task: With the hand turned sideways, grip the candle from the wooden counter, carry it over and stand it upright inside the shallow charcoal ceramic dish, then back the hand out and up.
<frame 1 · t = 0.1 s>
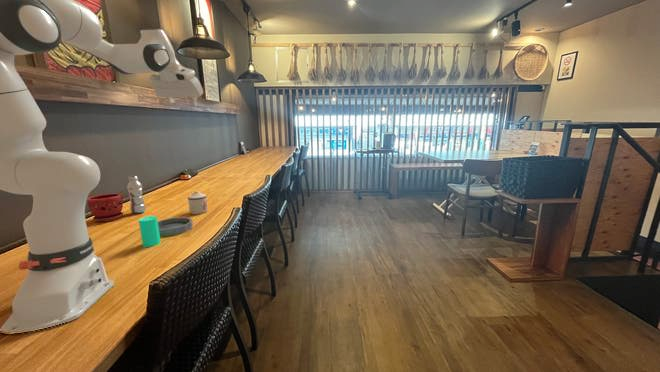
hand: (185, 106, 114), 54 cm above the counter, tool tilted 30°, fingers open, 8 cm apart
teacup with lid: (198, 211, 143), on the counter
plant pot: (109, 219, 130), on the counter
candle: (151, 243, 103), on the counter
dish: (173, 229, 117), on the counter
plastic bottle: (138, 213, 140), on the counter
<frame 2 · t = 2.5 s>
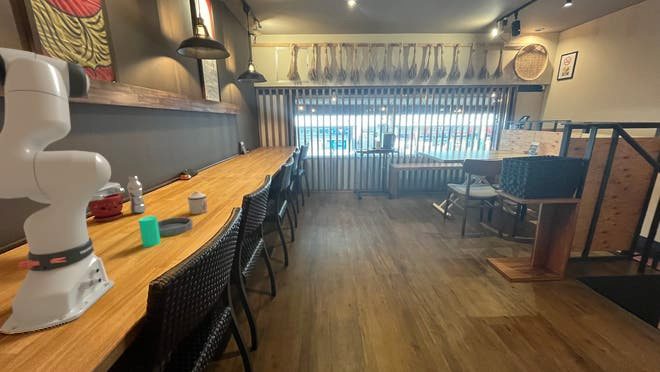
hand: (113, 193, 98), 20 cm above the counter, tool horizontal, fingers open, 8 cm apart
nothing on the counter moved.
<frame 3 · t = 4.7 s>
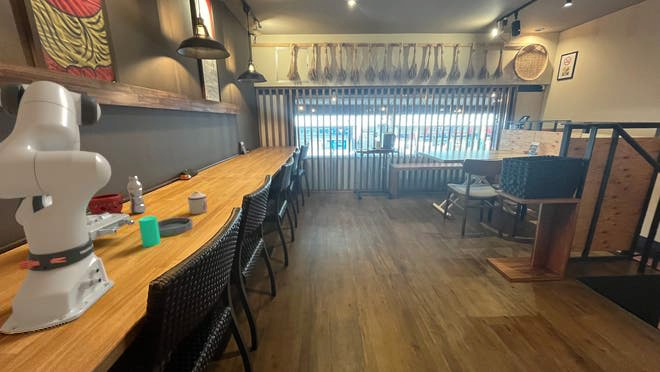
hand: (124, 226, 101), 7 cm above the counter, tool horizontal, fingers open, 8 cm apart
nothing on the counter moved.
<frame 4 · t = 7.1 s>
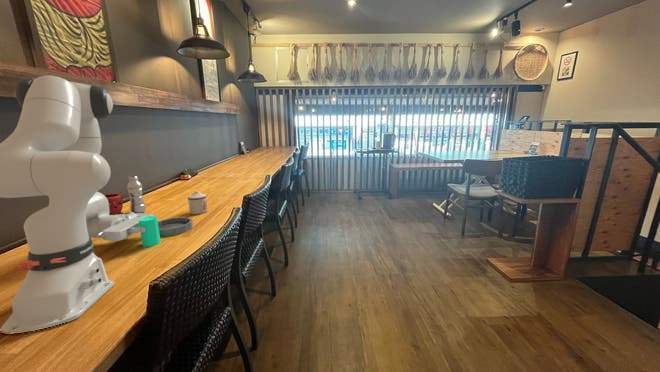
hand: (151, 226, 101), 7 cm above the counter, tool horizontal, fingers closed on candle, 5 cm apart
candle: (151, 243, 103), on the counter, touching gripper
everything else where it was.
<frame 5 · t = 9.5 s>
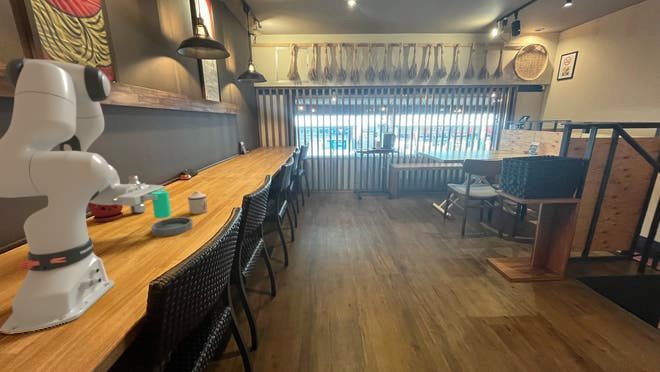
hand: (162, 195, 108), 17 cm above the counter, tool horizontal, fingers closed on candle, 5 cm apart
candle: (163, 216, 111), point 8 cm above the counter, touching gripper
everything else where it was.
when the fingers open (10 cm above the counter, at t = 12.2 s): candle stays where it is, resting on dish.
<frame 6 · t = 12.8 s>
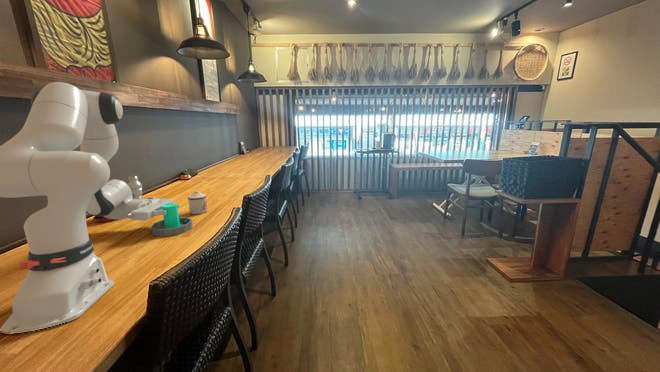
hand: (172, 209, 115), 10 cm above the counter, tool horizontal, fingers open, 8 cm apart
candle: (172, 227, 117), point 1 cm above the counter, touching dish
everything else where it was.
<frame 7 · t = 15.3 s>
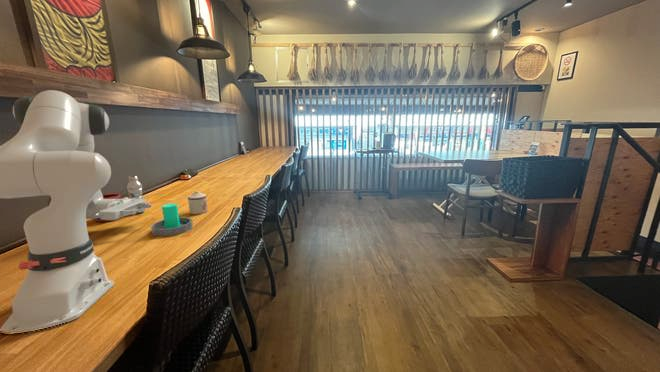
hand: (143, 208, 115), 10 cm above the counter, tool horizontal, fingers open, 8 cm apart
nothing on the counter moved.
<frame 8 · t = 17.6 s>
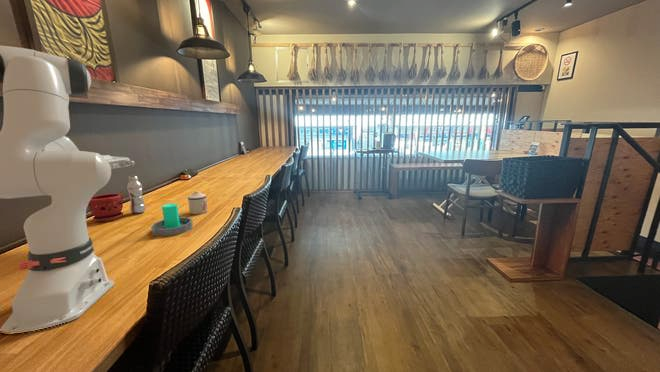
hand: (124, 164, 106), 30 cm above the counter, tool horizontal, fingers open, 8 cm apart
nothing on the counter moved.
at the end: candle inside the target area on the dish (0.1 cm from its centre), point 0.6 cm above the dish's base; candle tilted 0°; the gripper is holding nothing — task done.
